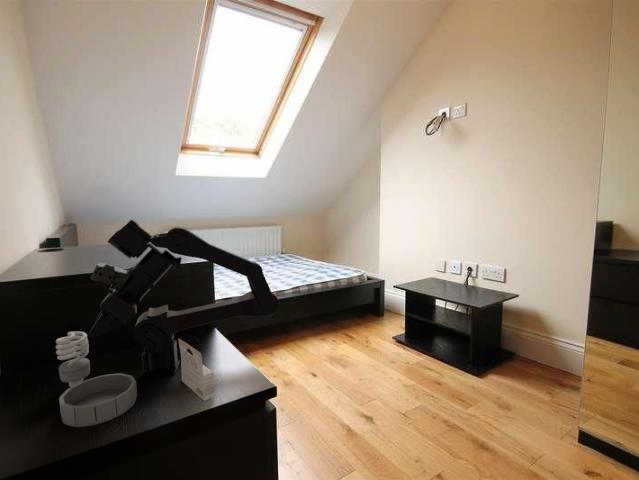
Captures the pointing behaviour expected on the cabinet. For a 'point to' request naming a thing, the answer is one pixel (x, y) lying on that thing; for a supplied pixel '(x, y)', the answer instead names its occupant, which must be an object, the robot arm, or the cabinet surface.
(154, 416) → the cabinet surface
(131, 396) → the bowl
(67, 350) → the light bulb
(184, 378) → the ink cartridge box
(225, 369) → the cabinet surface
